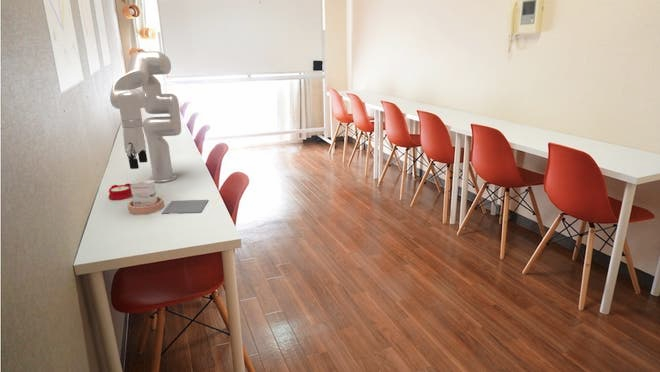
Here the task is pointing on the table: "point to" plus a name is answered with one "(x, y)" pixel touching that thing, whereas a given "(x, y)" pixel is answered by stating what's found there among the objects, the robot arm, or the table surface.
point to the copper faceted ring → (146, 209)
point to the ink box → (143, 193)
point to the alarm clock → (120, 192)
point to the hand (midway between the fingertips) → (139, 165)
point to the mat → (185, 206)
